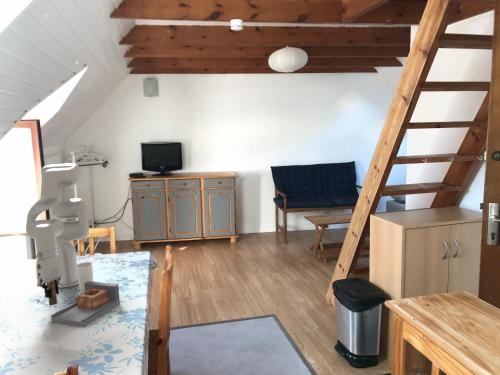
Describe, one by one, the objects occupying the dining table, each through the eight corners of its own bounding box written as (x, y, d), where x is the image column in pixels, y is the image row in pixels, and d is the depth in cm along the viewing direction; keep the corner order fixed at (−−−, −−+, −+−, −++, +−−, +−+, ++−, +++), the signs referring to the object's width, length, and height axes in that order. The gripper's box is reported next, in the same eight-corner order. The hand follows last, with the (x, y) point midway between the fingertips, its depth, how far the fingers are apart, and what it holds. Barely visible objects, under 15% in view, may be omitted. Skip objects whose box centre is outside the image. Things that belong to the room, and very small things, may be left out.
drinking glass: (89, 299, 187) (86, 267, 185) (76, 298, 188) (72, 266, 186) (97, 293, 194) (95, 262, 192) (84, 292, 195) (81, 262, 193)
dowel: (47, 304, 173) (44, 277, 171) (53, 301, 176) (50, 274, 174) (53, 305, 172) (50, 278, 170) (58, 302, 175) (55, 275, 173)
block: (77, 307, 173) (76, 295, 173) (92, 298, 182) (91, 287, 181) (95, 309, 170) (93, 297, 170) (109, 300, 179) (108, 289, 178)
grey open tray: (52, 322, 165) (49, 300, 164) (90, 300, 186) (88, 281, 184) (84, 327, 160) (82, 305, 159) (119, 304, 180) (118, 284, 179)
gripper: (38, 260, 161) (43, 305, 164) (69, 248, 177) (73, 288, 180) (23, 259, 164) (29, 302, 167) (55, 247, 179) (59, 287, 182)
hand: (52, 295), depth 173 cm, fingers closed on dowel, 3 cm apart
